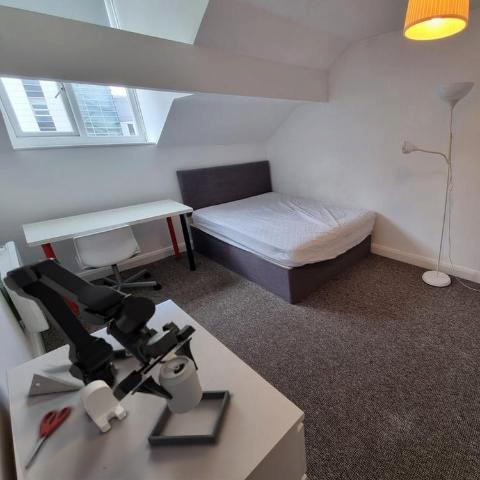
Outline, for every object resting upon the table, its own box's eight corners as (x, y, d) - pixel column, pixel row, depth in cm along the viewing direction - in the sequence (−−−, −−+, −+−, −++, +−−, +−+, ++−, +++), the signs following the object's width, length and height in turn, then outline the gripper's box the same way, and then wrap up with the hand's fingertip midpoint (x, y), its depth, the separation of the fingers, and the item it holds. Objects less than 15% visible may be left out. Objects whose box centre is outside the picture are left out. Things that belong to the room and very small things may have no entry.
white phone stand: (109, 396, 74) (96, 370, 70) (127, 414, 69) (113, 388, 65) (87, 412, 70) (71, 386, 66) (103, 433, 65) (87, 406, 61)
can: (190, 419, 61) (178, 383, 56) (162, 413, 63) (147, 377, 58) (209, 389, 68) (199, 355, 63) (183, 384, 69) (171, 350, 64)
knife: (130, 360, 86) (137, 348, 90) (127, 354, 85) (134, 342, 89) (38, 375, 82) (50, 362, 86) (34, 369, 81) (47, 356, 85)
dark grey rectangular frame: (150, 445, 62) (147, 439, 61) (174, 398, 73) (172, 391, 72) (215, 443, 62) (213, 437, 61) (230, 396, 73) (228, 390, 72)
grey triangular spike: (93, 372, 82) (48, 367, 81) (81, 377, 77) (33, 373, 76) (88, 392, 81) (43, 388, 80) (76, 399, 76) (27, 395, 75)
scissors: (46, 411, 70) (48, 414, 70) (7, 471, 58) (10, 473, 58) (71, 405, 71) (72, 407, 72) (38, 461, 59) (40, 464, 60)
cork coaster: (156, 365, 84) (155, 364, 83) (159, 347, 90) (158, 346, 90) (184, 356, 86) (183, 355, 86) (185, 340, 93) (184, 338, 93)
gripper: (102, 356, 49) (163, 414, 50) (181, 297, 65) (226, 342, 66) (89, 374, 55) (144, 426, 56) (165, 316, 71) (207, 357, 72)
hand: (184, 383), depth 62 cm, fingers closed on can, 7 cm apart
